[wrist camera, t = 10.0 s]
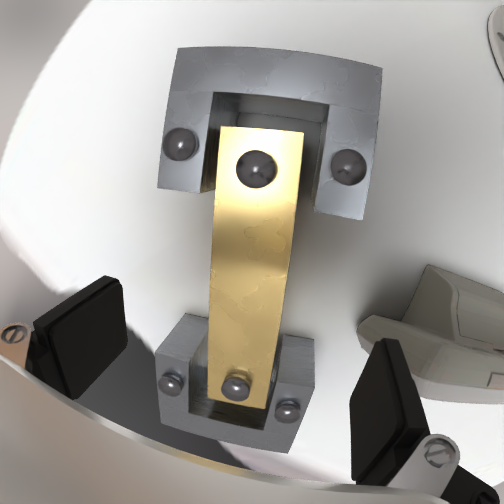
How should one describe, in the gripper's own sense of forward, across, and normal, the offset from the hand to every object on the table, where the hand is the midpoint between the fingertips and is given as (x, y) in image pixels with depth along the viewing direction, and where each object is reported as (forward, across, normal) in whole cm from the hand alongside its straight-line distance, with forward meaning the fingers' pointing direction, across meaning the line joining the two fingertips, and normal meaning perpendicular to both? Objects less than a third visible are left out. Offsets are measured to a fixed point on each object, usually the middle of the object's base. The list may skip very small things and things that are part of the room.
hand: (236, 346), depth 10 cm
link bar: (+11, +1, +1) cm, 11 cm away
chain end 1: (+11, +1, -8) cm, 13 cm away
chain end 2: (+10, +1, +10) cm, 14 cm away
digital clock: (+11, -15, +4) cm, 19 cm away
